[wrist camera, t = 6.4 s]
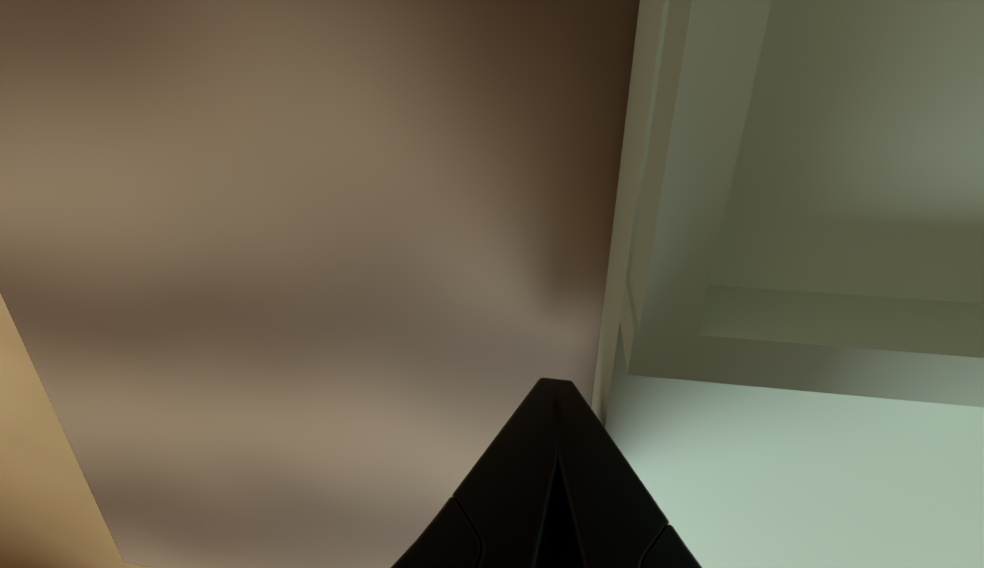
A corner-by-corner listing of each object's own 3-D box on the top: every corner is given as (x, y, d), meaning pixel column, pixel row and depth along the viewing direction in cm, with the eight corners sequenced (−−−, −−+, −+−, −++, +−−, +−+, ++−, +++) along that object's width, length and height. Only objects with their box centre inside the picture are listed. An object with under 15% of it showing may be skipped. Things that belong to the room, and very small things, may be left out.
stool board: (836, 658, 15) (852, 698, 14) (146, 534, 17) (123, 562, 17) (1381, -149, 6) (1511, -175, 5) (-145, -179, 9) (-225, -200, 8)
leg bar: (873, 551, 11) (986, 759, 8) (578, 514, 12) (578, 690, 9) (1322, -285, 5) (2457, -739, 2) (669, -247, 6) (767, -529, 3)
